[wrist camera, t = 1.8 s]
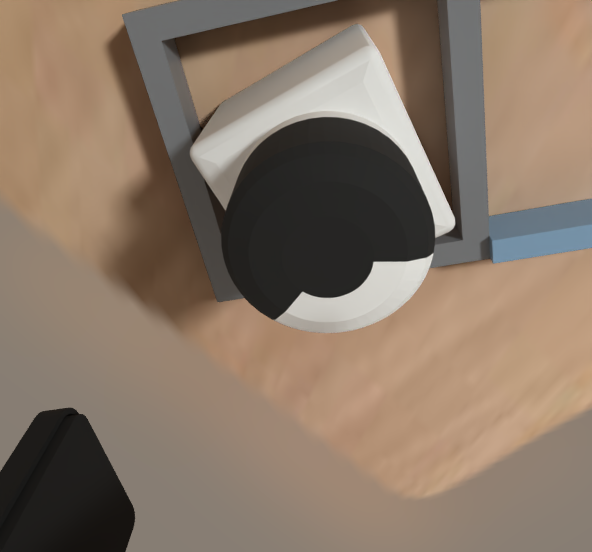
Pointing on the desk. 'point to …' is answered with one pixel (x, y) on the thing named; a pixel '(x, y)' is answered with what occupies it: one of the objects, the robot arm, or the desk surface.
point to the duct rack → (459, 120)
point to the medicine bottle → (323, 190)
